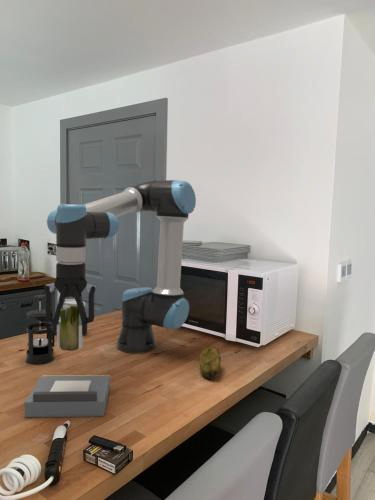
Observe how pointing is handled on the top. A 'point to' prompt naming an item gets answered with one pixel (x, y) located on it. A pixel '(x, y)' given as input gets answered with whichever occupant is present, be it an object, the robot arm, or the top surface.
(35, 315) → the french press
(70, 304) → the disposable coffee cup
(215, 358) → the olive green oval lump
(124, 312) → the robot arm
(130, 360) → the top surface
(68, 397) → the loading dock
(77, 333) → the fennel bulb
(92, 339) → the top surface
